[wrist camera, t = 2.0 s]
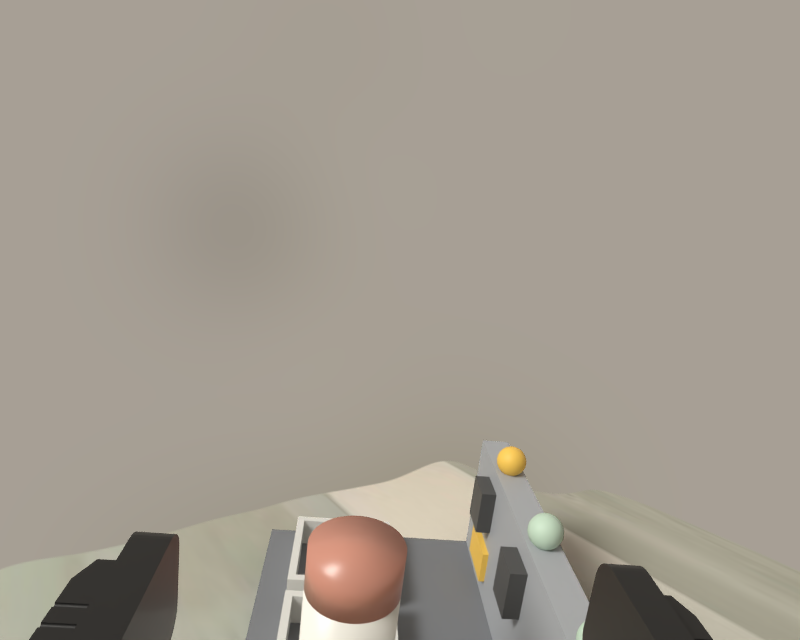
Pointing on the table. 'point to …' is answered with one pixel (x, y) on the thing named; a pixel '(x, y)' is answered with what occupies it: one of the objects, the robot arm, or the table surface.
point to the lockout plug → (353, 580)
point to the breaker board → (456, 570)
